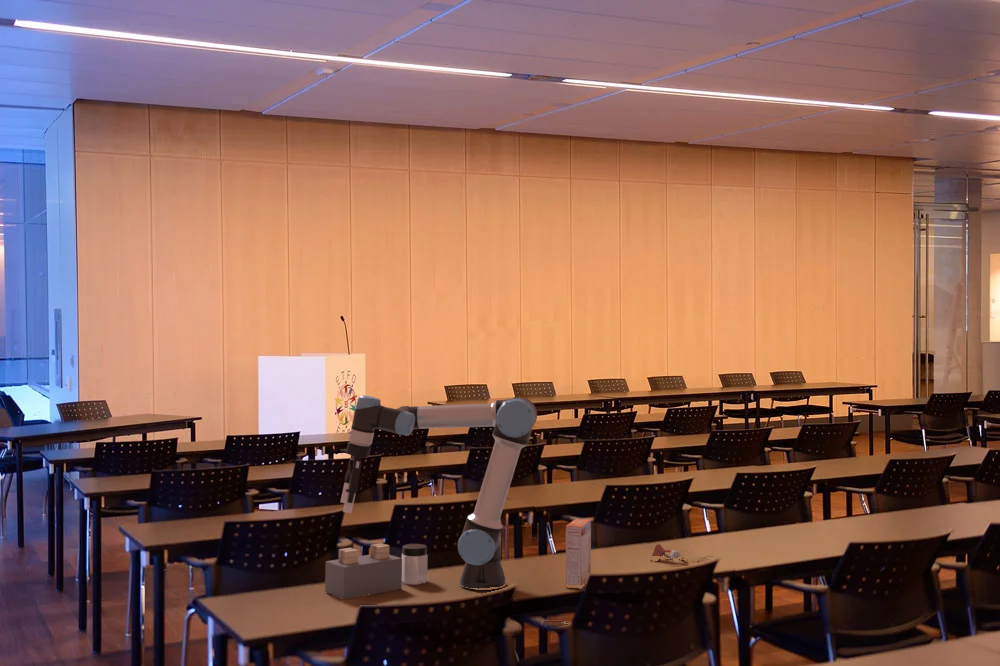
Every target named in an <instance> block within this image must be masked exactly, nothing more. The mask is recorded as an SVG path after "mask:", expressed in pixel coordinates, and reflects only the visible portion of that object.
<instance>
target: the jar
mask: <svg viewBox="0 0 1000 666" xmlns="http://www.w3.org/2000/svg"><path fill="white" fill-rule="evenodd" d="M427 547H428V546H427V545H426V544H421V543H407V544H404V545H403V546H402V553H401V558H402V583H403V584H404V585H411V586H419V585H423V584H427V583H428V556H429V555H428V554H427V552H428V549H427ZM426 582H427V583H426ZM422 583H423V584H422ZM418 584H419V585H418Z"/></svg>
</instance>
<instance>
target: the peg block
mask: <svg viewBox="0 0 1000 666" xmlns="http://www.w3.org/2000/svg"><path fill="white" fill-rule="evenodd" d="M324 575H325V578H324V579H325V582H324V583H325V584H324V588H325V589H324V590H325V591H324V592H327V593H329V594H328V595H330V594H332V595H331V596H333V595H334V596H333V597H335V596H336V597H335V598H338V597H339V598H338V599H340V598H342V599H341V600H343V599H345V600H349V599H348V598H350V599H354V597H356V598H359V597H358V596H361V597H364V596H363V595H367V596H369V595H368V594H372V595H375V594H374V593H378V594H381V593H380V592H383V593H388V592H387V591H389V592H393V590H394V591H399V590H398V589H400V590H402V587H403V586H402V583H403V582H402V557H399V556H395V555H392V554H389V558H386V559H379V560H377V559H373V558H370V554H367V555H358V563H354V564H347V565H345V564H342V563H339V558H338V559H333V560H332V559H331V560H326V561H325V574H324ZM327 593H326V594H327Z"/></svg>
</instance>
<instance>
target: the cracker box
mask: <svg viewBox="0 0 1000 666" xmlns="http://www.w3.org/2000/svg"><path fill="white" fill-rule="evenodd" d="M591 522H592V520H591V519H585V518H575V519H573V520H572V521H571V522H569V523H568V524H567V525H565V585H566V584H567V585H583V584H585V582H586V579H587V576H588V575H589V574H591V575H592V548H591V547H592V546H591V545H592V540H591V539H592V523H591Z"/></svg>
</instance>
